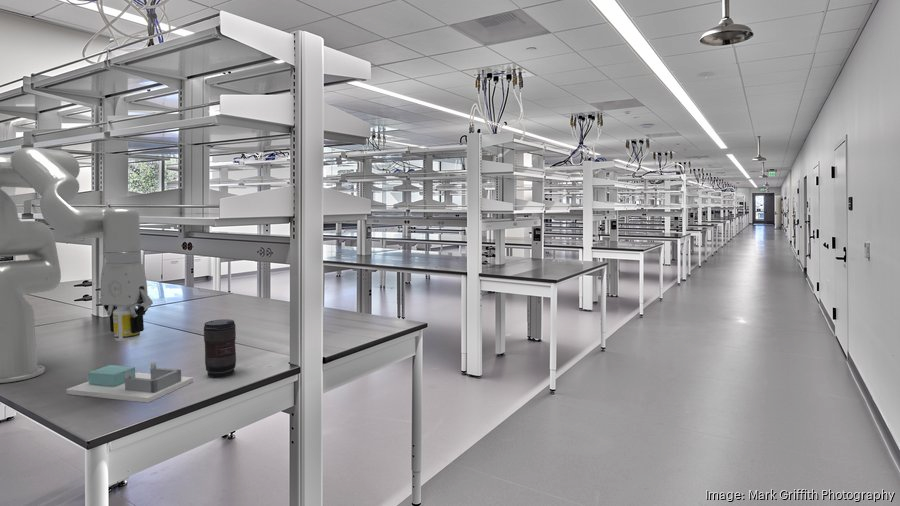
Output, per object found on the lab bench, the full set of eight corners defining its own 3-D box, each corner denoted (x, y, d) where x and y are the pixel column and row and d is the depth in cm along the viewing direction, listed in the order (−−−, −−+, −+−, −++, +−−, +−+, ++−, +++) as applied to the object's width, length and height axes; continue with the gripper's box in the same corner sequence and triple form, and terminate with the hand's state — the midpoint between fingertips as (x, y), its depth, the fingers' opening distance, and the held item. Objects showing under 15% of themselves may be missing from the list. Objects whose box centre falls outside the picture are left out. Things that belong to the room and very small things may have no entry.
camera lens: (240, 368, 146) (238, 318, 144) (232, 378, 138) (230, 324, 136) (210, 370, 144) (208, 318, 143) (201, 379, 136) (199, 325, 135)
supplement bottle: (144, 335, 127) (142, 297, 127) (131, 341, 122) (129, 301, 121) (123, 335, 127) (121, 297, 127) (109, 341, 122) (106, 301, 121)
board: (66, 393, 125) (65, 371, 124) (118, 374, 140) (117, 354, 139) (148, 402, 120) (147, 379, 119) (192, 381, 134) (192, 361, 134)
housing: (88, 383, 129) (88, 372, 128) (110, 375, 135) (109, 364, 135) (114, 386, 127) (114, 374, 127) (135, 378, 133) (135, 367, 133)
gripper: (81, 259, 122) (85, 332, 123) (139, 261, 118) (143, 337, 119) (108, 256, 129) (112, 326, 130) (164, 258, 125) (168, 329, 126)
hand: (127, 330), depth 125 cm, fingers closed on supplement bottle, 5 cm apart
